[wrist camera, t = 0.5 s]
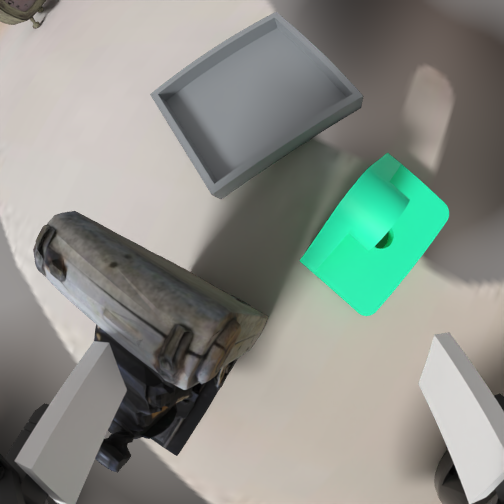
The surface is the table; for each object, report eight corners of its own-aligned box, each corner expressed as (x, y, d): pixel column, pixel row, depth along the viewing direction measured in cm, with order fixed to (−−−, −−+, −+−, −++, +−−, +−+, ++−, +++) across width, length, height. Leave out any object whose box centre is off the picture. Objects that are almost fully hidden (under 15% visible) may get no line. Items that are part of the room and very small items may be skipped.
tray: (361, 107, 27) (363, 96, 24) (220, 199, 30) (211, 194, 27) (279, 25, 28) (276, 11, 26) (161, 103, 32) (150, 94, 29)
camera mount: (364, 315, 27) (382, 347, 17) (301, 260, 28) (287, 264, 18) (443, 215, 25) (494, 196, 15) (382, 161, 26) (407, 116, 16)
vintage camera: (120, 392, 29) (-30, 438, 9) (186, 267, 31) (49, 191, 11) (196, 444, 27) (92, 561, 7) (273, 316, 29) (240, 314, 9)
